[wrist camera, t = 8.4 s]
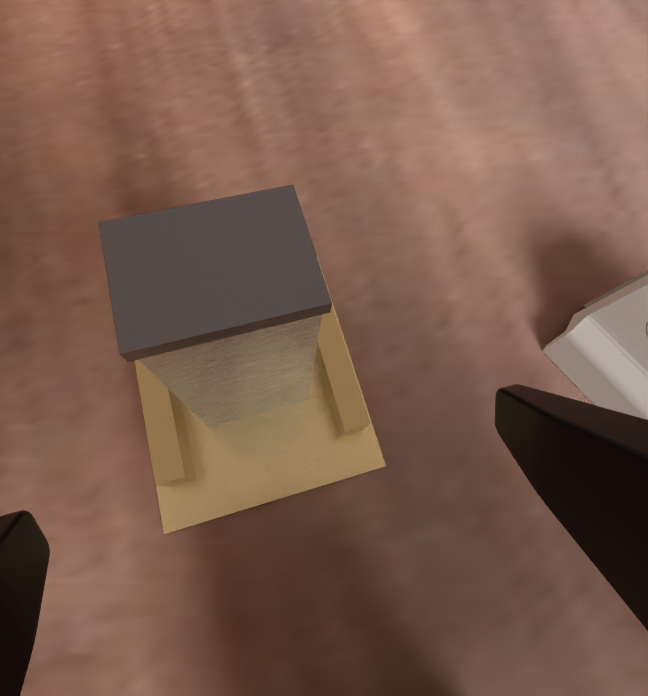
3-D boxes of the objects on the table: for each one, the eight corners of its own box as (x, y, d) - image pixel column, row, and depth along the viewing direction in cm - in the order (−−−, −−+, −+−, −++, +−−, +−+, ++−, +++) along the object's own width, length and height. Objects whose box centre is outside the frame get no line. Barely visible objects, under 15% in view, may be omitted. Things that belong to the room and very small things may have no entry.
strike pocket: (384, 466, 22) (397, 461, 19) (166, 533, 20) (147, 537, 18) (316, 259, 26) (319, 230, 23) (127, 301, 24) (106, 275, 21)
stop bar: (311, 401, 22) (332, 302, 11) (206, 431, 22) (119, 354, 11) (291, 333, 23) (293, 184, 13) (190, 358, 23) (98, 222, 12)
